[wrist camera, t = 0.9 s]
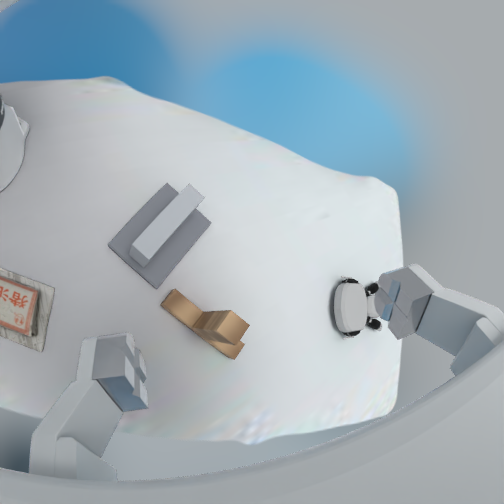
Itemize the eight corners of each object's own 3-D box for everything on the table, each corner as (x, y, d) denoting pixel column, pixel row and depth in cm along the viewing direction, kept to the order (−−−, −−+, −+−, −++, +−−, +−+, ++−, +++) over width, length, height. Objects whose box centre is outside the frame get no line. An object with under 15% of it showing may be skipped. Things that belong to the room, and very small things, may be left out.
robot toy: (370, 280, 66) (325, 278, 59) (385, 278, 62) (342, 275, 55) (372, 332, 63) (327, 339, 56) (388, 332, 59) (344, 339, 52)
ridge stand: (108, 246, 42) (107, 231, 35) (165, 185, 48) (176, 163, 41) (156, 289, 44) (164, 283, 37) (209, 224, 50) (226, 209, 43)
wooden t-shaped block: (160, 305, 44) (178, 300, 32) (171, 290, 45) (194, 279, 33) (228, 357, 47) (269, 369, 35) (238, 343, 48) (281, 350, 36)
